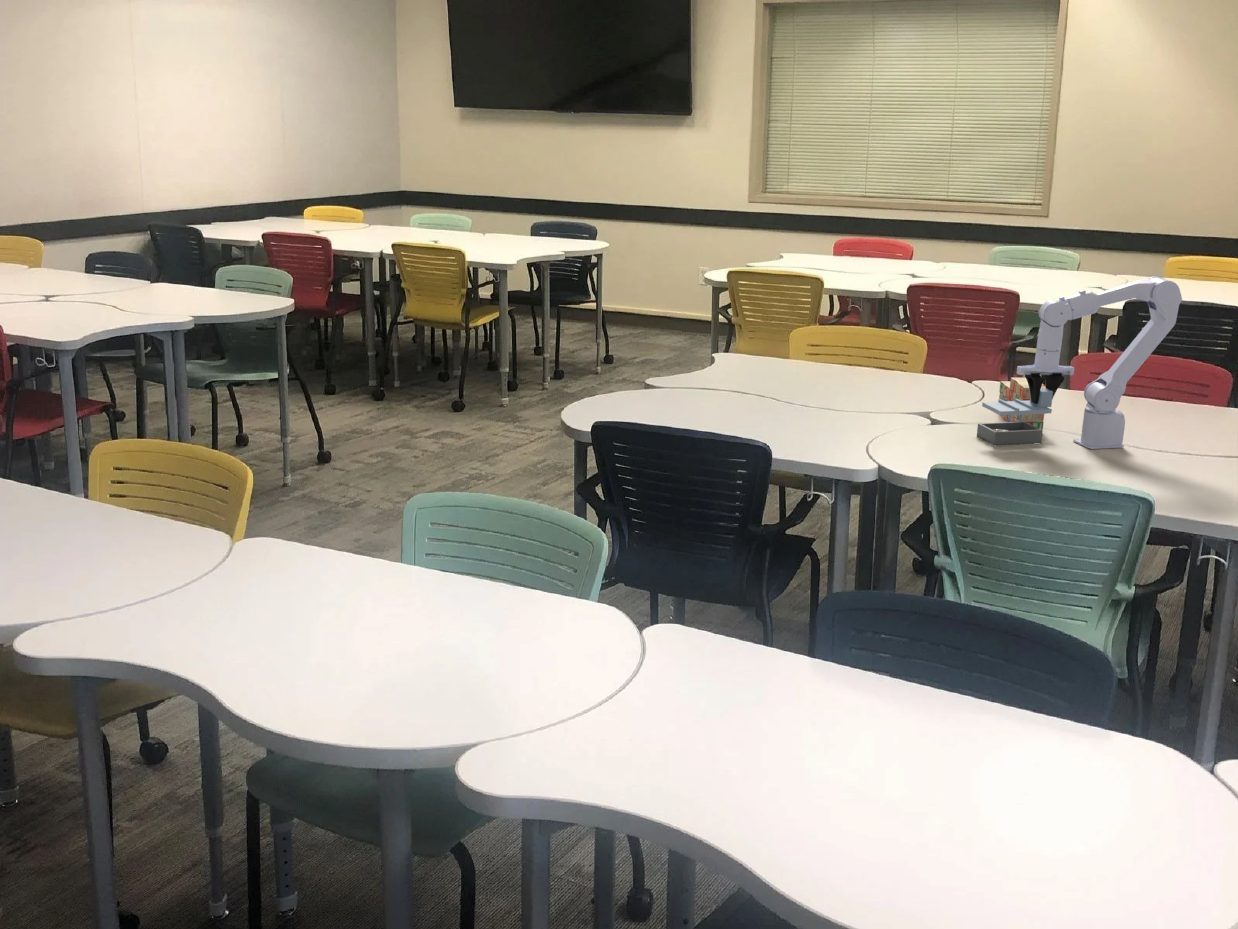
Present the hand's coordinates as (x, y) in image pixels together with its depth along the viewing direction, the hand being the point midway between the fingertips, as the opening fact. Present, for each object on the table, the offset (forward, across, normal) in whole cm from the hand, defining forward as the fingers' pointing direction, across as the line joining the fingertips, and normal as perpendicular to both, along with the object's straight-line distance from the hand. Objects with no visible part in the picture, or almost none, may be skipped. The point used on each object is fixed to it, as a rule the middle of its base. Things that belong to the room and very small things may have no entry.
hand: (1041, 402), depth 300 cm
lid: (+2, +6, 0) cm, 7 cm away
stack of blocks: (+11, -6, -20) cm, 24 cm away
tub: (+10, +6, -3) cm, 12 cm away
